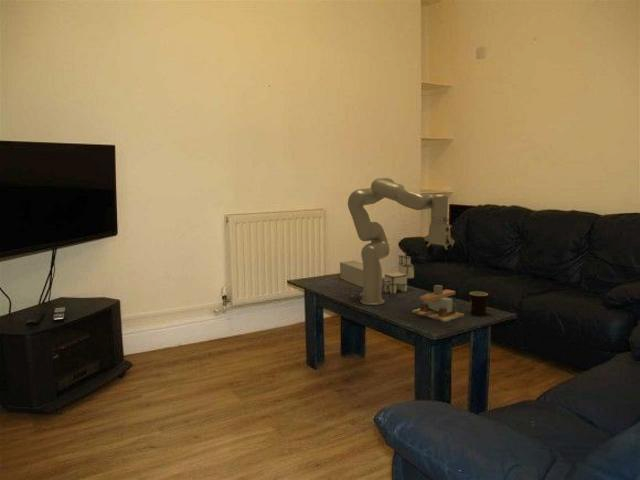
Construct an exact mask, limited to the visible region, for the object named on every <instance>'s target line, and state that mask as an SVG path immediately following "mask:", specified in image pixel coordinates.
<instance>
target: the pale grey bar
mask: <svg viewBox="0 0 640 480" xmlns="http://www.w3.org/2000/svg"><path fill="white" fill-rule="evenodd" d="M428 294H429V293H426V294H424V295H428ZM423 303H425V304H428V308H430V309H434V310H438V311H439V308H444V309H446V313H448V312H451V311H452V306H453V298H450V297H448V298H446V297H444V298H440V299H438V302H433V301H429V302H428V301H424V300H423Z"/></svg>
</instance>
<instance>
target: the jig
mask: <svg viewBox="0 0 640 480" xmlns="http://www.w3.org/2000/svg"><path fill="white" fill-rule="evenodd" d="M411 313H413V314H417V315H420V316H424V317H427V318H432V319H435V320H438V321H440V322H441V321H442V322H445V323H446V322H449V321H452V320H455V319H458V318H461V317H465V313H464V312H463V313H462V312H458V311H457V310H456V306H454V305H452V311H451V312H448V313H446V309H444V308H439V311H438V310H434V309H430V308H428V304H425V303H424V302H421V303H420V308H419V307H418V308H417V309H413V310H412V312H411Z"/></svg>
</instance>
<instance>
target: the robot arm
mask: <svg viewBox="0 0 640 480" xmlns="http://www.w3.org/2000/svg"><path fill="white" fill-rule="evenodd" d="M383 199H389V200H391V201H395V202H396V203H397V204H399V205H401V206H403V207H405V208H407V209H408V208H409V209H412V210H415V211H422V210H429V209H430V223H429V227H428V233H427V235H426V236H424V237H423V239H424V240H423V241H425V245H426V247H427V255H428V256H433V255H434V245H436V246H437V245H438V246H443V247H444V252H443V255H444V256H443V257H444V259H449V258H450V255H451V252H450V251H451V249H452V248H453V246H454V245H455V244H454V243H455V239H453V238H452V237H451V227H450V224H449V223H448V222H450V219H449V218H448V213H449V209H448V203H449V202H448V201H449V197H448V195H447V194H443V193H435V194H434V193H428V192H427V193H426V192H425V193H416V192H411V191H408V190H407V189H405V186H404V185H403V184H400V183H396V182H394V180H393V179H392V178H390V177H381V178H380V177H379V178H376V179H374V180H372V182H371V184H370V188H360V189H356V190H353V191H352V192H351V193H350V195H349V197H348V199H347V209H348V212H349V213H350V216H351V218H352V222H353V225H354V227H355V230H356V231H355V232H356V234H357V236H358V239H359V240H360V241H361V242H370V243H366V244H365V245H363V246H362V248H361V253H360V256H361V261H362V263H363V287H362V288H363V291H361V293H359V296H360V297H361V299H360V303H361V304H362V305H364V306H365V305H366V306H380V305H384V304H385V303H386V301H385V299H384V298H382V287H381V269H382V265H381V262H380V260H384V259H385V258H387V257H388V256H389V255H390V250H391V249H390V244H389V242H388V239H387V236H386V233H385V230H384V227H383V226H382V225H381V224H380V223H379V222H377V221H371V218H370V216H369V213H368V211H367V209H365V207H364V206H367V205H373V204H376V203H378V202H380V201H381V200H383Z"/></svg>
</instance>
